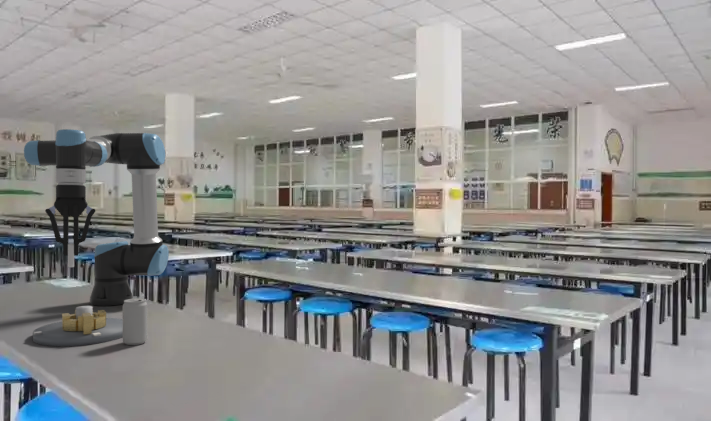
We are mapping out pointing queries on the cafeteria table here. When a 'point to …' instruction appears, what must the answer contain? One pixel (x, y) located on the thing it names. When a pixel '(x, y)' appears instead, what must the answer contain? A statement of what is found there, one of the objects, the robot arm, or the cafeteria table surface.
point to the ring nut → (84, 321)
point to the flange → (78, 332)
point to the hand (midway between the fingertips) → (71, 266)
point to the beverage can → (134, 321)
